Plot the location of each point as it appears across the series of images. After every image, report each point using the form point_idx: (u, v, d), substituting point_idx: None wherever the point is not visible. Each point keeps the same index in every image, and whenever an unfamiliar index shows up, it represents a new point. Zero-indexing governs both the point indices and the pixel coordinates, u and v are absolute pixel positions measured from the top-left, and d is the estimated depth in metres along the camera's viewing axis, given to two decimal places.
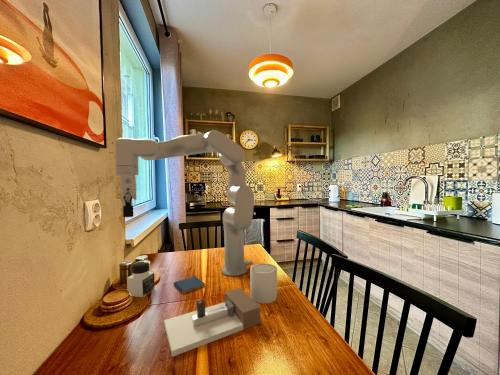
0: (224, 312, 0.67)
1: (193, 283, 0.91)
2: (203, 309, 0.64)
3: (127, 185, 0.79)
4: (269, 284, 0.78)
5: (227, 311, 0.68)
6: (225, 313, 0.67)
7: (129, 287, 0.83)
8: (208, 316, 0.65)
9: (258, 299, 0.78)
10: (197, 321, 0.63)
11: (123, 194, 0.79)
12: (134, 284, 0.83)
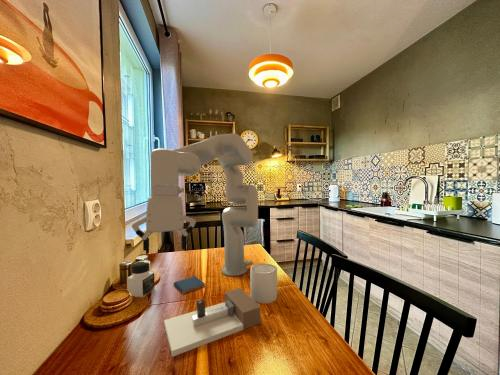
0: (224, 312, 0.67)
1: (193, 283, 0.91)
2: (203, 309, 0.64)
3: None
4: (269, 284, 0.78)
5: (227, 311, 0.68)
6: (225, 313, 0.67)
7: (129, 287, 0.83)
8: (208, 316, 0.65)
9: (258, 299, 0.78)
10: (197, 321, 0.63)
11: (183, 221, 0.64)
12: (134, 284, 0.83)
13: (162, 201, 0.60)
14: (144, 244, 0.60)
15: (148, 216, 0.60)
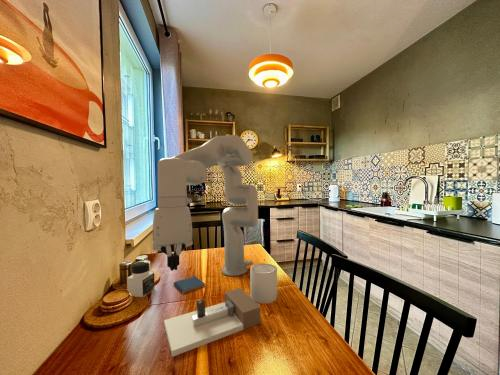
0: (224, 312, 0.67)
1: (193, 283, 0.91)
2: (203, 309, 0.64)
3: None
4: (269, 284, 0.78)
5: (227, 311, 0.68)
6: (225, 313, 0.67)
7: (129, 287, 0.83)
8: (208, 316, 0.65)
9: (258, 299, 0.78)
10: (197, 321, 0.63)
11: None
12: (134, 284, 0.83)
13: (171, 213, 0.58)
14: (169, 260, 0.59)
15: (156, 229, 0.56)
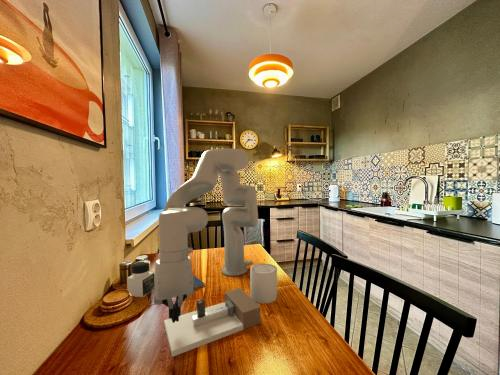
0: (224, 312, 0.67)
1: None
2: (203, 309, 0.64)
3: None
4: (269, 284, 0.78)
5: (227, 311, 0.68)
6: (225, 313, 0.67)
7: (129, 287, 0.83)
8: (208, 316, 0.65)
9: (258, 299, 0.78)
10: (197, 321, 0.63)
11: (193, 283, 0.62)
12: (134, 284, 0.83)
13: (172, 267, 0.58)
14: (170, 312, 0.60)
15: (158, 284, 0.57)
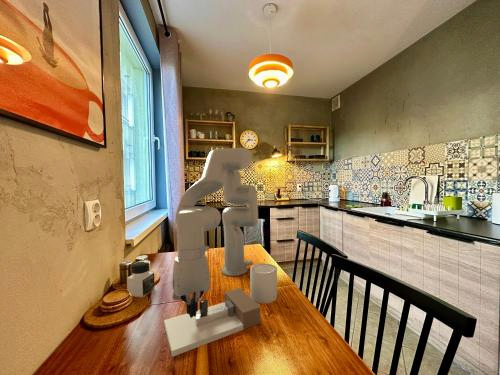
0: (226, 311, 0.68)
1: None
2: (206, 309, 0.64)
3: None
4: (269, 284, 0.78)
5: None
6: (227, 312, 0.68)
7: (129, 287, 0.83)
8: (211, 315, 0.65)
9: (258, 299, 0.78)
10: (200, 320, 0.64)
11: (209, 280, 0.64)
12: (134, 284, 0.83)
13: (191, 264, 0.61)
14: (188, 308, 0.62)
15: (177, 281, 0.59)
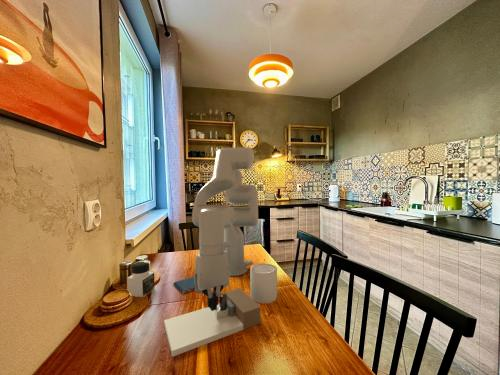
0: None
1: (193, 283, 0.91)
2: (226, 303, 0.67)
3: None
4: (269, 284, 0.78)
5: None
6: None
7: (129, 287, 0.83)
8: None
9: (258, 299, 0.78)
10: (220, 314, 0.67)
11: None
12: (134, 284, 0.83)
13: (212, 259, 0.64)
14: (209, 301, 0.65)
15: (200, 275, 0.62)
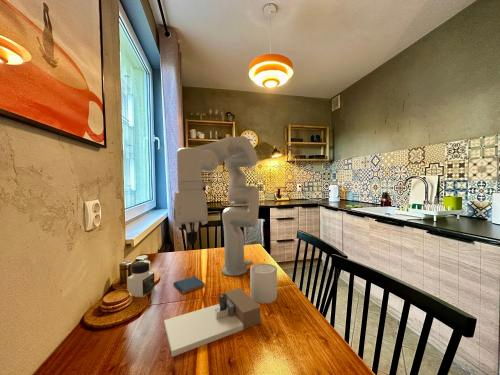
0: None
1: (193, 283, 0.91)
2: (225, 303, 0.67)
3: None
4: (269, 284, 0.78)
5: None
6: None
7: (129, 287, 0.83)
8: None
9: (258, 299, 0.78)
10: (220, 314, 0.67)
11: None
12: (134, 284, 0.83)
13: (190, 195, 0.67)
14: (188, 236, 0.69)
15: (178, 209, 0.66)
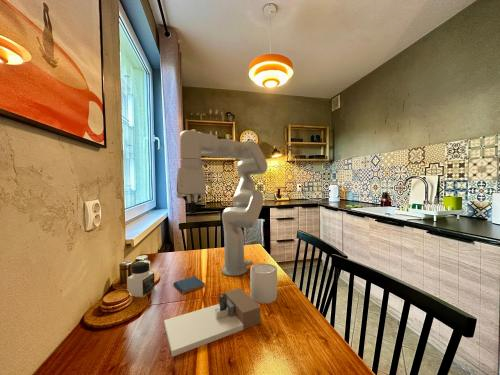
0: None
1: (193, 283, 0.91)
2: (225, 303, 0.67)
3: None
4: (269, 284, 0.78)
5: None
6: None
7: (129, 287, 0.83)
8: None
9: (258, 299, 0.78)
10: (220, 314, 0.67)
11: None
12: (134, 284, 0.83)
13: (190, 170, 0.79)
14: (189, 206, 0.81)
15: (180, 181, 0.78)
